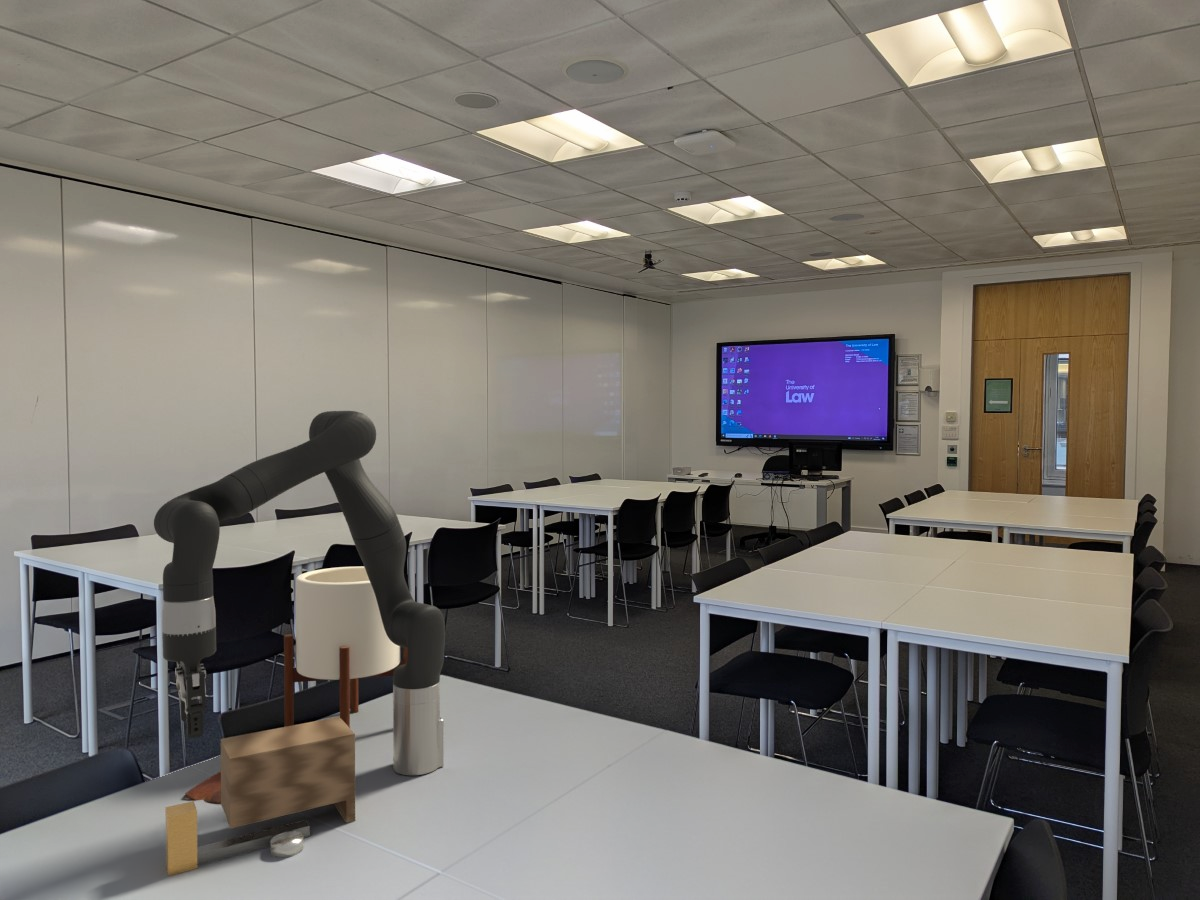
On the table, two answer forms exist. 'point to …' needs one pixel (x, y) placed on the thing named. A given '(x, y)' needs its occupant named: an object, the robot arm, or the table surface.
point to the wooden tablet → (207, 790)
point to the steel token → (287, 844)
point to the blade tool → (189, 856)
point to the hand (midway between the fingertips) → (191, 727)
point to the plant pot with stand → (337, 636)
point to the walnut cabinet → (288, 771)
